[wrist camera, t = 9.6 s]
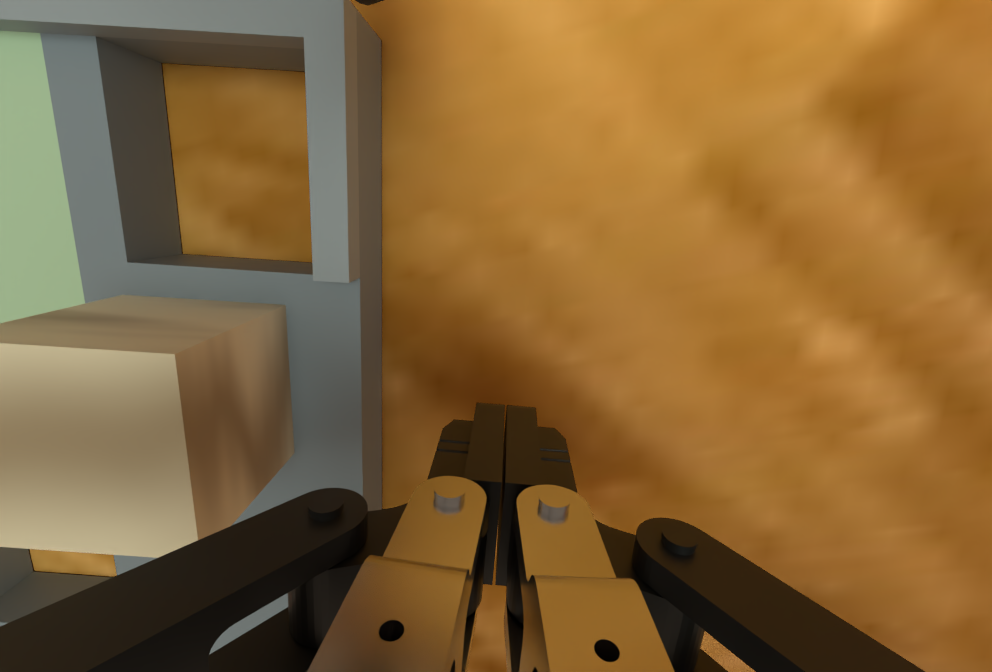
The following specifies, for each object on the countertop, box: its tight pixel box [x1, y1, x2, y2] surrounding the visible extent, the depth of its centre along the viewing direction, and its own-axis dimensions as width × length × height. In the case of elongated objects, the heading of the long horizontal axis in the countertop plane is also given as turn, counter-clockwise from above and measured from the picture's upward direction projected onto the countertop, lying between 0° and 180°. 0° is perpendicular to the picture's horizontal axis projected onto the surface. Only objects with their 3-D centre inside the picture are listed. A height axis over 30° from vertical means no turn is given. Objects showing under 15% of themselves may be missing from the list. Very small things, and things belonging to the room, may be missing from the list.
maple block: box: [0, 295, 294, 558], centre depth 13 cm, size 5×5×5 cm
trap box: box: [0, 0, 382, 655], centre depth 16 cm, size 24×16×4 cm, turn 176°
